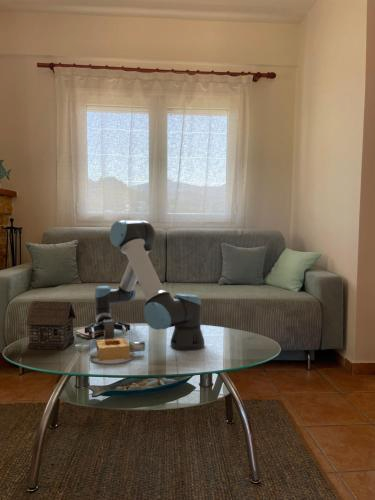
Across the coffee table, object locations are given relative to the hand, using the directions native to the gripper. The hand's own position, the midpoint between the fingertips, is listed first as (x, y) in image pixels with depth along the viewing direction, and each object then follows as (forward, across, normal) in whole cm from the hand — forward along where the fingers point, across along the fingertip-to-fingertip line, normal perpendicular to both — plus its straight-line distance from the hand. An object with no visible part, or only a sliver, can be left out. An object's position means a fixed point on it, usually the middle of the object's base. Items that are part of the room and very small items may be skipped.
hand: (109, 333), depth 183 cm
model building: (-13, +24, -7) cm, 28 cm away
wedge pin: (-3, 0, -7) cm, 8 cm away
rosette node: (+11, -2, -7) cm, 13 cm away
